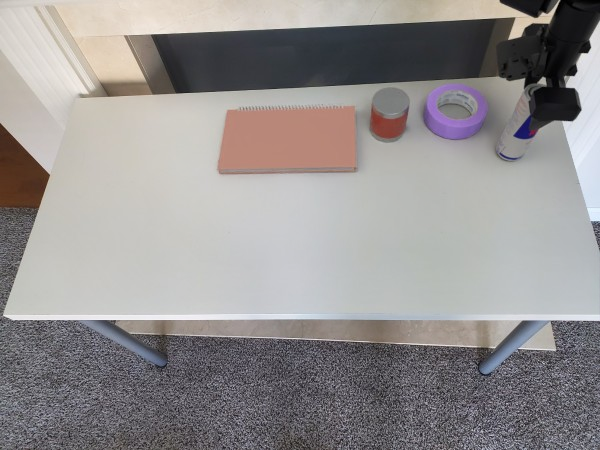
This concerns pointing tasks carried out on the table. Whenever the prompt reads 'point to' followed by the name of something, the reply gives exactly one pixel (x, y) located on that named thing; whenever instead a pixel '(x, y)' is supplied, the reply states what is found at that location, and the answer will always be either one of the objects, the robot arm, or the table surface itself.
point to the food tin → (389, 114)
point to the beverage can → (518, 128)
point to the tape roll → (451, 126)
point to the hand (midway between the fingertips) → (529, 109)
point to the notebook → (289, 140)
